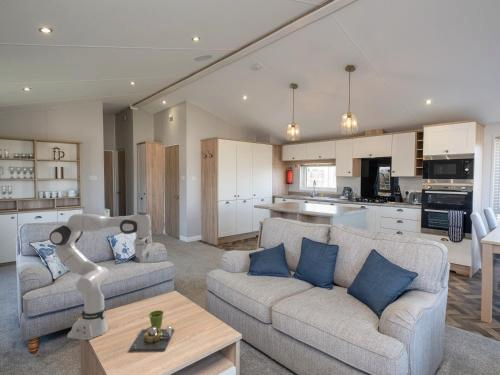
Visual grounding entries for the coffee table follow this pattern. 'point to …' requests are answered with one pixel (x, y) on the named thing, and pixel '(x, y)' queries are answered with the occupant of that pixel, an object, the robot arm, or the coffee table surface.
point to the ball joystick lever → (157, 335)
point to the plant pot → (156, 318)
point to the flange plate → (151, 346)
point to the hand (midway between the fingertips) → (144, 260)
